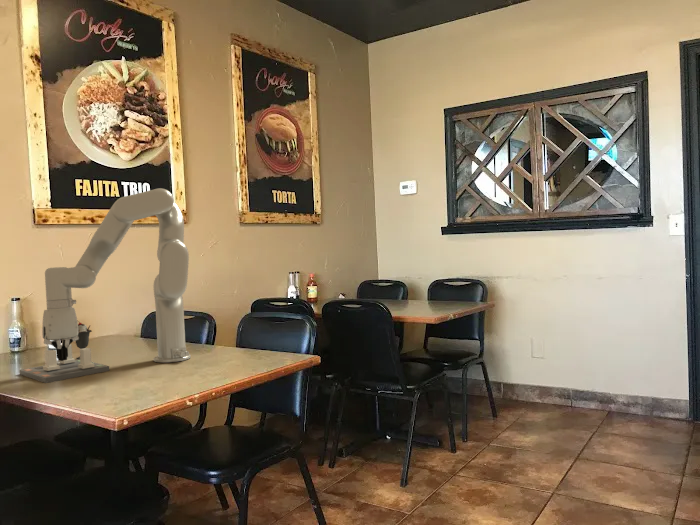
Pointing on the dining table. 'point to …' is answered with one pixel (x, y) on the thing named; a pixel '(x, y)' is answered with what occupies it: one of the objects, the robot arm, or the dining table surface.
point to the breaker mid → (50, 360)
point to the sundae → (82, 336)
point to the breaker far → (69, 358)
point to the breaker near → (85, 358)
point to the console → (62, 371)
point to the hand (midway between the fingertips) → (62, 360)
